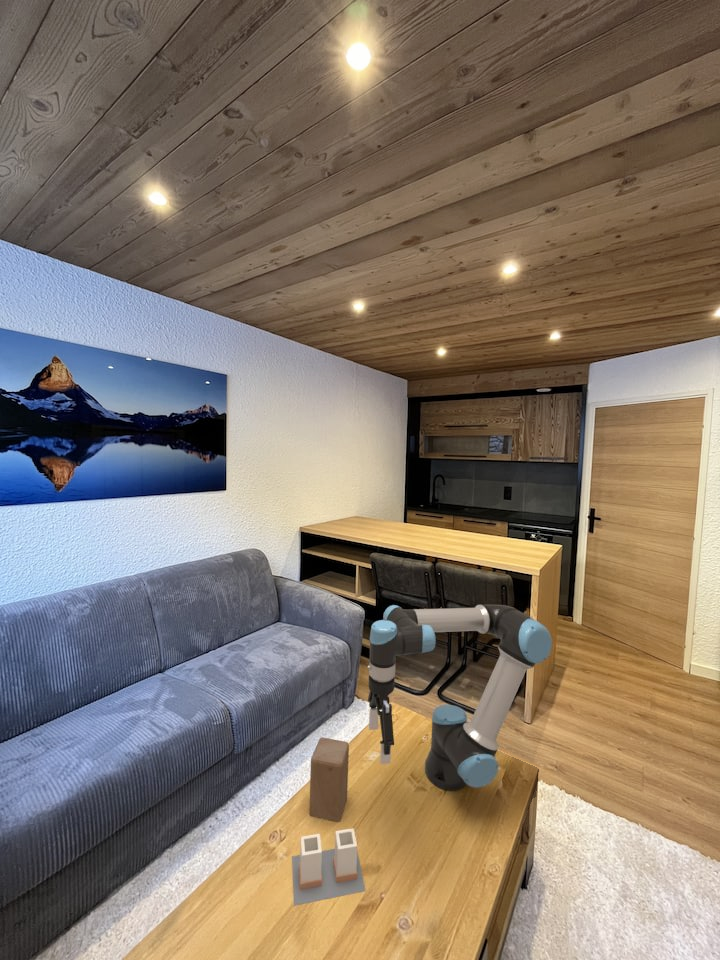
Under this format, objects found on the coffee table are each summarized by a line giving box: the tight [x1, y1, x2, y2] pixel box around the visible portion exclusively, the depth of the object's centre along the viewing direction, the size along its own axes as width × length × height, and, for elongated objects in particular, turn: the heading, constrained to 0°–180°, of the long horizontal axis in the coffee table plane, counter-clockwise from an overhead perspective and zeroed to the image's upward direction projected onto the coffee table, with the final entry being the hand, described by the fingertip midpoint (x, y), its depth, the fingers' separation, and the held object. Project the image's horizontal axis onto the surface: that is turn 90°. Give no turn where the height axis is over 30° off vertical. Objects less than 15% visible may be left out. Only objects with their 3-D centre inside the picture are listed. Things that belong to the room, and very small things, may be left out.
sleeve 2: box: [333, 827, 358, 883], centre depth 106 cm, size 6×6×9 cm
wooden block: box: [309, 737, 350, 823], centre depth 125 cm, size 10×10×20 cm
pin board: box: [291, 848, 366, 906], centre depth 105 cm, size 18×12×8 cm, turn 102°
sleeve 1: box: [299, 833, 323, 890], centre depth 104 cm, size 6×6×9 cm
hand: (379, 744), depth 117 cm, fingers open, 13 cm apart
